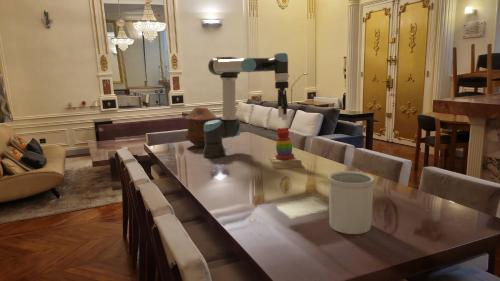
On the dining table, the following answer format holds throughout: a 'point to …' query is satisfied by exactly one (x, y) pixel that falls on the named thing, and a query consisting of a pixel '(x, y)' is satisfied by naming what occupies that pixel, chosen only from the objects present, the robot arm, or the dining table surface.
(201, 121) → the pottery vessel
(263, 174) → the dining table surface
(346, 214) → the utensil holder
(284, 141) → the stacking bear
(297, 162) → the maple block
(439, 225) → the dining table surface
